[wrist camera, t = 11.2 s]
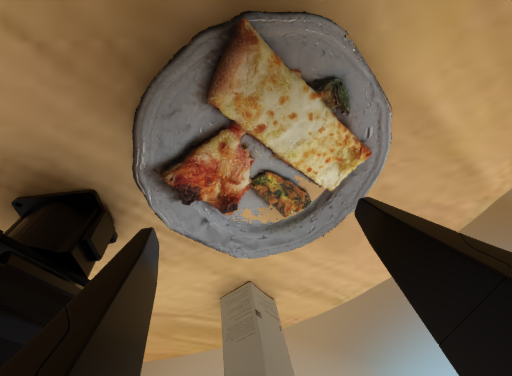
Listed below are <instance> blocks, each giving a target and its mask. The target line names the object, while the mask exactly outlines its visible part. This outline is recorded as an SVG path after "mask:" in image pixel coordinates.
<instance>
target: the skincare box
mask: <svg viewBox="0 0 512 376" xmlns="http://www.w3.org/2000/svg"><path fill="white" fill-rule="evenodd" d="M220 300H221V318H222V339H223V360H224V376H294V372H293V368H292V365H291V361H290V357H289V353H288V349H287V345H286V341H285V338H284V334H283V330H282V326H281V322H280V318H279V315H278V311H277V307H276V303H275V301H274V300H273V299H271V298H269V297H268V296H267V295H265V294H264V293H263V292H262V291H260V290H259V289H258V288H257V287H256V286H255V285H254V284H253V283H252V282H248V283H246V284H245V285H243V286H241V287H240V288H238V289H236V290H234V291H233V292H231V293H229V294H227V295H226V296H224V297H222V298H221V299H220Z"/></svg>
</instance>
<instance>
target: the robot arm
mask: <svg viewBox="0 0 512 376" xmlns="http://www.w3.org/2000/svg"><path fill="white" fill-rule="evenodd" d="M89 195H92V196H93V197H90V196H89ZM20 203H21V204H20ZM11 204H12V206H13V207H14V209H15V210H16V211H17V213H18V214H19V215H20V218H19V219H18V220H17V221H16V222H15V223H14V224H13V225H12V226H11V227H10V228H9V229H8V230H7V231H6V232H5V233H4V234H3V231H1V230H0V376H140V374H141V368H142V363H143V358H144V352H145V347H146V341H147V336H148V330H149V325H150V320H151V314H152V309H153V303H154V298H155V293H156V287H157V276H158V260H159V242H158V239H157V236H156V233H155V230H154V228H152V227H150V228H143V229H141V230H140V231H139V232H138V233H137V234H136V235H135V236H134V237H133V238H132V239H131V240H130V241H129V242H128V243H127V244H126V245H125V246H124V247H123V248H122V249H121V250H120V251H119V252H118V253H117V254H116V255H115V256H114V257H113V258H112V259H111V260H110V261H109V262H108V263H107V264H106V265H105V266H104V267H103V269H102V270H101V271H100V272H99V273H98V274H97V275H96V276H95V277H94V278H93V279H92V280H89V279H88V277H89V275H90V273H91V270H92V268H93V266H94V264H95V262H96V261H100V260H101V259H102V257H103V255H104V253H105V250H106V248H107V246H108V244H110V243H114V242H116V240H117V235H116V233H115V231H114V230H115V227H114V225H113V223H112V221H111V219H110V216H109V214H108V212H107V210H105V209H104V207H103V205H102V203H101V201H100V199H99V197H98V195H97V193H96V192H95V191H93V190H84V191H74V192H65V193H56V194H46V195H37V196H28V197H19V198H16V199H15V200H14V201H12V203H11ZM355 217H356V219H357V221H358V223H359V225H360V226H361V228H362V230H363V232H364V234H365V236H366V237H367V239H368V241H369V243H370V244H371V246H372V248H373V249H374V251H375V252H376V254H377V255H378V257H379V258H380V259H381V261H382V262H383V264H384V265H385V267H386V268H387V270H388V271H389V273H390V274H391V276H392V277H393V278H394V280H395V282H396V283H397V285H398V286H399V287H400V289H401V290H402V292H403V293H404V295H405V296H406V298H407V299H408V301H409V302H410V304H411V305H412V307H413V308H414V310H415V311H416V313H417V314H418V315H419V317H420V318H421V320H422V321H423V323H424V324H425V326H426V327H427V329H428V330H429V332H430V333H431V334H432V336H433V338H434V339H435V341H436V342H437V343H438V344H439V347H440V348H441V349H442V351H443V353H444V354H445V356H446V357H447V359H448V360H449V362H450V363H451V364H452V366H453V367H454V369H455V370H456V372H457V373H458V375H459V376H512V252H509V251H507V250H504V249H501V248H498V247H495V246H493V245H490V244H487V243H485V242H482V241H479V240H477V239H474V238H471V237H469V236H466V235H464V234H461V233H457V232H456V231H454V230H451V229H449V228H446V227H444V226H441V225H438V224H436V223H433V222H431V221H428V220H426V219H423V218H421V217H418V216H416V215H413V214H411V213H408V212H406V211H403V210H401V209H398V208H396V207H393V206H390V205H388V204H385V203H383V202H380V201H378V200H375V199H373V198H370V197H363V198H360V199H359V200H358V202H357V206H356V209H355ZM111 238H113V239H111Z"/></svg>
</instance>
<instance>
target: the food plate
mask: <svg viewBox="0 0 512 376" xmlns="http://www.w3.org/2000/svg"><path fill="white" fill-rule="evenodd" d="M346 34H347V35H348V33H347V32H346V31H345V30H344V29H342V28H340V26H338V25H337V24H336V23H335V22H333V21H332V20H330V19H328V18H325V17H322V16H319V15H315V14H310V13H307V12H305V11H304V12H280V13H279V12H277V13H276V12H272V13H271V12H266V11H264V12H260V11H259V12H257V11H254V12H253V11H246V12H243V13H240V15H237V16H235V17H234V18H232V19H231V20H230V21H228V22H226V23H225V22H224V23H222V24H219V25H216V26H212V27H208V28H207V29H206V30H203V31H202V32H199V33H198V34H197V35H195V36H194V37H193V38H192V39H191V41H190V43H189V44H187V46H184V47H182V48H181V49H179V51H178V52H177V53H176V54H175V55H173V56H174V57H173V59H172V60H171V59H170V61H169V62H168V63H167V65H165V66H164V67H163V68H162V69H161V70H160V71H159V72H158V74H157V75H156V76H155V77H154V78H153V80H152V82H151V83H150V85H149V86H148V87H147V89H146V91H145V93H144V94H143V95H142V97H141V100H140V104H139V105H138V108H136V112H135V117H134V125H133V130H132V133H133V159H134V160H133V166H132V167H133V168H132V170H133V177H134V180H135V182H136V184H137V186H138V188H139V189H140V191H142V193H144V197H146V200H147V202H148V205H149V207H151V209H152V210H153V211H154V212H155V215H157V216H158V218H160V220H161V221H163V222H164V224H165V225H166V226H167V227H169V229H171V230H174V231H175V232H177V233H179V234H181V235H184V236H186V237H188V238H190V239H192V240H194V241H197V242H199V243H202V244H203V245H206V246H208V247H210V248H211V247H212V248H213V249H216V250H217V251H219V252H222V253H225V254H228V253H229V254H230V256H231V255H232V256H233V257H235V258H248V259H251V258H259V257H267V256H269V255H274V254H278V253H281V252H287V251H290V250H294V249H296V248H300V247H302V246H304V245H306V244H309V243H311V242H312V241H314V240H316V239H317V238H320V237H322V236H323V237H324V234H325V233H327V232H329V230H333V228H335V227H336V226H337V225H338V224H339V223H340V222H342V221H343V220H344V219H345V218H346V217H347V216H348V215H349V214H350V213H351V212H354V210H355V209H356V206H357V202H358V200H359V199H360V198H363V197H366V194H367V193H368V192H369V190H370V188H371V187H372V186H373V185H374V183H375V182H376V181H377V179H378V176H379V174H380V172H381V171H382V169H383V166H384V164H385V162H386V158H387V157H388V154H389V148H390V144H391V139H392V137H391V119H392V115H391V110H389V107H388V104H389V106H390V107H391V105H390V103H389V101H388V99H387V97H386V95H385V93H384V91H383V89H382V88H381V86H380V84H379V82H378V81H377V79H376V77H375V75H374V74H373V73H372V71H371V69H370V68H369V66H368V64H367V63H366V61H365V59H364V58H363V56H362V55H361V53H360V52H359V50H357V47H355V48H354V45H355V44H354V42H353V41H352V39H351V40H348V38H346ZM353 44H354V45H353ZM355 46H356V45H355ZM359 53H360V55H359ZM360 56H361V57H362V59H363V60H362V59H361V57H360ZM379 87H380V88H379ZM381 91H382V92H383V93H382V92H381ZM383 94H384V95H385V97H386V99H385V97H384V95H383ZM386 100H387V101H386ZM387 102H388V103H387ZM391 109H392V108H391ZM243 143H247V144H248V148H244V147H243V146H242V144H243ZM294 175H298V176H300V177H303V178H305V179H307V180H308V182H311V181H312V183H314V184H316V185H319V187H323V188H327V189H326V190H325V191H324V192H323V193H322V194H321V195H320V196H319V197H318V198H316V199H315V201H313V202H312V201H311V200H310V196H309V194H308V193H307V192H304V191H302V190H300V189H299V187H298V185H297V183H300V182H301V181H299V180H298V181H296V179H295V178H294ZM295 181H296V182H295ZM270 203H271V204H272V205H273V207H275V208H276V209H277V210H278V211H279V212H280V213H281V215H283V216H284V217H287V216H289V214H292V213H293V211H295V212H297V213H298V212H299V211H300V210H301V209H304V208H305V209H304V210H303V211H302V212H300V213H298V214H296V215H294V216H293V217H292V216H291V217H289V218H288V219H286V220H285V219H282V220H280V221H279V222H277V223H272V222H271V223H270V221H269V220H268V222H267V224H262V222H261V221H260V220H251V223H252V224H249V220H250V218H249V219H247V220H248V221H247V222H246V221H241V220H242V219H246V218H244V217H243V216H242V215H241V216H240V213H241V214H242V212H243V210H244V209H245V207H246V208H247V209H250V210H251V211H252V214H253V215H256V217H258V213H262V212H259V210H256V209H257V208H264V207H263V206H265V207H266V208H267V207H269V206H270ZM308 205H309V206H308ZM241 206H242V207H241ZM238 208H239V211H236V210H237V209H238ZM215 209H218V211H217V210H215ZM265 210H267V209H265ZM271 210H272V208H271ZM271 210H270V211H271ZM267 211H268V210H267ZM235 212H236V215H237V216H235ZM265 214H267V212H266V213H265ZM228 215H230V216H228ZM261 215H263V214H261ZM237 217H238V218H240V219H238V218H237ZM227 218H229V219H227ZM231 218H235V220H239V221H234V220H232V219H231ZM270 218H271V217H270ZM216 219H217V220H216ZM277 220H278V218H277ZM327 234H328V233H327Z"/></svg>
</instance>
